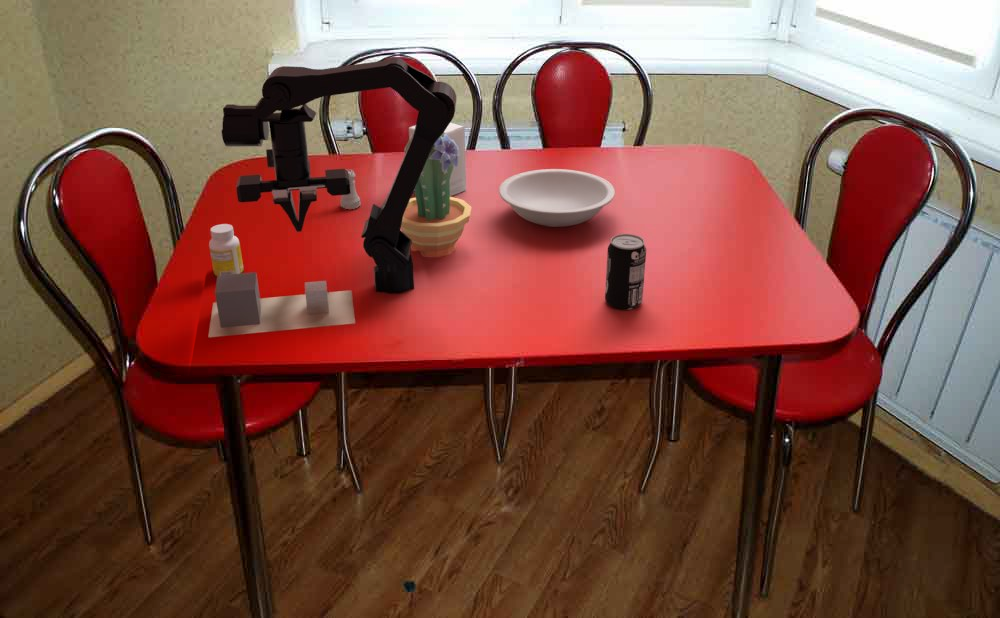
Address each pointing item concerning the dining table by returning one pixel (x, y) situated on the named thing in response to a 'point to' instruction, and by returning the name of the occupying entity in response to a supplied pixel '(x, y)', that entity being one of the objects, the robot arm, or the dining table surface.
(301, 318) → the board
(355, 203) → the rook chess piece
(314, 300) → the grey cube
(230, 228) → the supplement bottle
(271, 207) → the dining table surface
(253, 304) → the gray matte cube
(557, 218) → the soup bowl
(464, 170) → the supplement box
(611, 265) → the beverage can
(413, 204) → the potted cactus
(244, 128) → the robot arm
